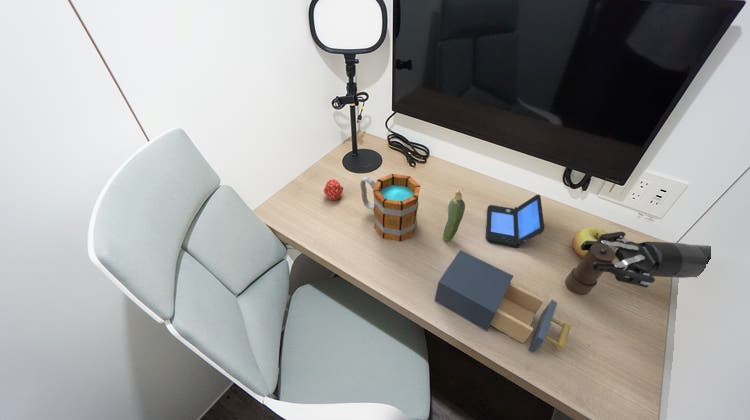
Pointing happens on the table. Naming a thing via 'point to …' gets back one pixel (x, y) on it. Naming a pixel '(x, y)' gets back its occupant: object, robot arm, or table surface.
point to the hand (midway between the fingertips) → (587, 255)
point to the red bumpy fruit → (333, 189)
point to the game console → (515, 223)
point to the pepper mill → (588, 270)
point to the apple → (585, 239)
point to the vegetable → (454, 216)
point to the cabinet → (472, 289)
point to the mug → (393, 205)
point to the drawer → (527, 318)
